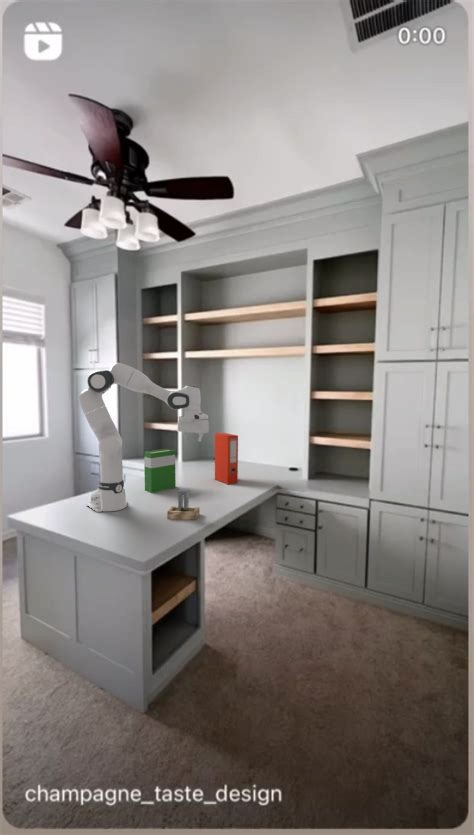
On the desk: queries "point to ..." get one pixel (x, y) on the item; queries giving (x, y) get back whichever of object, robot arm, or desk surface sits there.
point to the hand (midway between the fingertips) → (192, 440)
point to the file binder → (226, 458)
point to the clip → (180, 500)
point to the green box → (159, 470)
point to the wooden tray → (183, 513)
